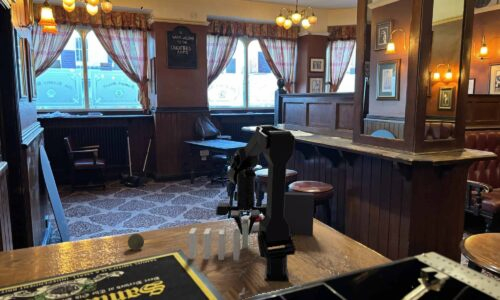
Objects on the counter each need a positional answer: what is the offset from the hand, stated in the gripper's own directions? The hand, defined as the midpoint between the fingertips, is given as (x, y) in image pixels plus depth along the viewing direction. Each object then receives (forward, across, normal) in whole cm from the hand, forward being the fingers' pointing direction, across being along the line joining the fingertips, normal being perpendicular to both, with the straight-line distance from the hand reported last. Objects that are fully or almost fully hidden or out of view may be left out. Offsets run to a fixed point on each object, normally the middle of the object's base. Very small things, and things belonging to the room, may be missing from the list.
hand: (245, 234), depth 126 cm
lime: (+4, +35, +6) cm, 36 cm away
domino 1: (+4, +16, +10) cm, 19 cm away
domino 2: (+4, +11, +10) cm, 15 cm away
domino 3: (+4, +6, +10) cm, 12 cm away
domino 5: (+4, 0, 0) cm, 4 cm away
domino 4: (+4, +2, +10) cm, 11 cm away
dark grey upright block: (+4, -18, -12) cm, 22 cm away
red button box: (+4, -3, -20) cm, 21 cm away
